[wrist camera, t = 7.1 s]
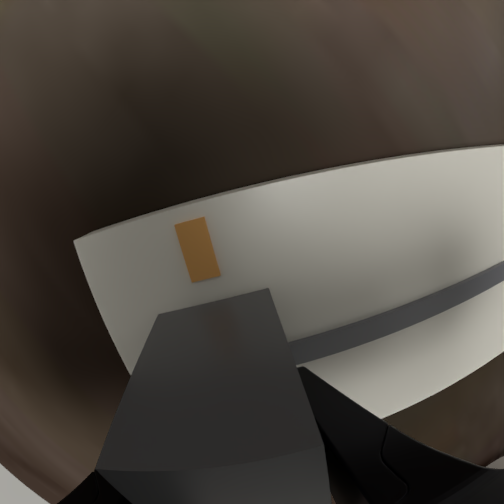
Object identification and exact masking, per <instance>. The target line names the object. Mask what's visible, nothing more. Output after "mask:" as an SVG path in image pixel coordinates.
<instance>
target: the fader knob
mask: <svg viewBox="0 0 504 504" xmlns="http://www.w3.org/2000/svg"><path fill="white" fill-rule="evenodd" d="M95 469H96V470H97V471H98V472H99V473H100V474H101V475H102V476H103V477H104V478H105V479H106V480H107V481H108V482H109V483H110V484H111V485H112V486H113V487H114V488H115V489H116V490H117V491H119V492H120V493H121V494H122V495H123V496H124V497H125V498H126V499H128V500H129V501H130V502H131V503H132V504H332V502H331V494H330V486H329V478H328V470H327V463H326V456H325V449H324V444H323V441H322V438H321V435H320V432H319V429H318V426H317V424H316V421H315V418H314V415H313V412H312V409H311V406H310V404H309V401H308V398H307V395H306V392H305V389H304V386H303V384H302V381H301V378H300V375H299V372H298V369H297V367H296V364H295V361H294V358H293V355H292V352H291V350H290V347H289V344H288V341H287V338H286V335H285V333H284V330H283V327H282V324H281V321H280V318H279V316H278V313H277V310H276V307H275V304H274V302H273V299H272V296H271V293H270V290H269V288H266V289H262V290H258V291H254V292H250V293H246V294H242V295H238V296H234V297H230V298H226V299H222V300H217V301H213V302H209V303H205V304H201V305H196V306H192V307H188V308H183V309H179V310H174V311H170V312H165V313H161V314H158V316H157V318H156V320H155V322H154V324H153V327H152V329H151V331H150V333H149V336H148V338H147V340H146V342H145V344H144V347H143V349H142V351H141V354H140V356H139V358H138V360H137V363H136V365H135V367H134V370H133V372H132V374H131V377H130V379H129V382H128V384H127V386H126V389H125V391H124V394H123V396H122V399H121V401H120V404H119V406H118V409H117V411H116V414H115V416H114V419H113V421H112V424H111V427H110V429H109V432H108V435H107V437H106V440H105V443H104V445H103V448H102V451H101V454H100V456H99V459H98V462H97V465H96V468H95Z"/></svg>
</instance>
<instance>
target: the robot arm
mask: <svg viewBox="0 0 504 504" xmlns="http://www.w3.org/2000/svg"><path fill="white" fill-rule="evenodd" d="M297 369H298V372H299V375H300V378H301V381H302V384H303V386H304V389H305V392H306V395H307V398H308V401H309V404H310V406H311V409H312V412H313V415H314V418H315V421H316V424H317V426H318V429H319V432H320V435H321V438H322V441H323V444H324V449H325V456H326V463H327V470H328V478H329V486H330V492H331V494H332V496H333V498H334V500H335V502H336V504H504V469H493V468H486V467H482V466H479V465H476V464H473V463H470V462H467V461H465V460H462V459H459V458H456V457H454V456H451V455H449V454H446V453H444V452H441V451H439V450H436V449H434V448H432V447H429V446H427V445H425V444H423V443H421V442H419V441H417V440H415V439H413V438H411V437H409V436H408V435H406V434H404V433H402V432H401V431H399V430H398V429H396V428H394V427H393V426H391V425H389V426H388V423H386V422H385V421H383V420H382V419H380V418H379V417H377V416H376V415H374V414H373V413H371V412H369V411H368V410H366V409H365V408H363V407H362V406H360V405H359V404H357V403H356V402H354V401H353V400H352V399H350V398H349V397H347V396H346V395H344V394H343V393H341V392H340V391H338V390H337V389H336V388H334V387H333V386H331V385H330V384H328V383H327V382H326V381H324V380H323V379H321V378H320V377H318V376H317V375H316V374H314V373H313V372H311V371H310V370H309V369H307V368H306V367H304V366H301V367H297ZM57 504H132V503H131V502H130V501H129V500H128V499H126V498H125V497H124V496H123V495H122V494H121V493H120V492H119V491H117V490H116V489H115V488H114V487H113V486H112V485H111V484H110V483H109V482H108V481H107V480H106V479H105V478H104V477H103V476H102V475H101V474H100V473H99V472H98V471H97V470H96V469H95V470H94V472H92V473H91V474H90V475H89V476H88V477H87V478H86V479H85V480H84V481H83V482H82V483H81V484H80V485H78V486H77V487H76V488H75V489H74V490H73V491H72V492H71V493H70V494H68V495H67V496H66V497H65V498H64V499H62V500H61V501H60V502H59V503H57Z"/></svg>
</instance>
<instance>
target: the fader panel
mask: <svg viewBox="0 0 504 504" xmlns="http://www.w3.org/2000/svg"><path fill="white" fill-rule="evenodd" d="M73 242H74V245H75V248H76V251H77V254H78V257H79V260H80V263H81V265H82V268H83V271H84V274H85V276H86V279H87V282H88V284H89V287H90V289H91V292H92V295H93V297H94V299H95V302H96V304H97V307H98V309H99V311H100V314H101V316H102V318H103V321H104V323H105V325H106V327H107V329H108V332H109V334H110V336H111V338H112V340H113V342H114V344H115V346H116V348H117V350H118V352H119V354H120V356H121V358H122V360H123V362H124V364H125V366H126V368H127V370H128V372H129V373H130V375H131V374H132V372H133V370H134V367H135V365H136V363H137V360H138V358H139V356H140V354H141V351H142V349H143V347H144V344H145V342H146V340H147V338H148V336H149V333H150V331H151V329H152V327H153V324H154V322H155V320H156V318H157V316H158V314H161V313H165V312H170V311H174V310H179V309H183V308H188V307H192V306H196V305H201V304H205V303H209V302H213V301H217V300H222V299H226V298H230V297H234V296H238V295H242V294H246V293H250V292H254V291H258V290H262V289H266V288H269V290H270V293H271V296H272V299H273V302H274V304H275V307H276V310H277V313H278V316H279V318H280V321H281V324H282V327H283V330H284V333H285V335H286V338H287V341H288V344H289V347H290V350H291V352H292V355H293V358H294V361H295V364H296V367H301V366H304V367H306V368H307V369H309V370H310V371H311V372H313V373H314V374H316V375H317V376H318V377H320V378H321V379H323V380H324V381H326V382H327V383H328V384H330V385H331V386H333V387H334V388H336V389H337V390H338V391H340V392H341V393H343V394H344V395H346V396H347V397H349V398H350V399H352V400H353V401H354V402H356V403H357V404H359V405H360V406H362V407H363V408H365V409H366V410H368V411H369V412H371V413H373V414H374V415H376V416H377V417H379V418H380V419H382V418H384V417H387V416H389V415H391V414H394V413H396V412H398V411H401V410H403V409H405V408H407V407H409V406H411V405H414V404H416V403H418V402H420V401H422V400H424V399H426V398H428V397H430V396H432V395H434V394H435V393H437V392H439V391H441V390H443V389H445V388H447V387H448V386H450V385H452V384H454V383H455V382H457V381H459V380H460V379H462V378H464V377H465V376H467V375H469V374H470V373H472V372H474V371H475V370H477V369H478V368H480V367H481V366H483V365H484V364H486V363H487V362H489V361H490V360H492V359H493V358H495V357H496V356H498V355H499V354H500V353H502V352H503V351H504V144H499V145H486V146H475V147H465V148H455V149H447V150H438V151H431V152H423V153H416V154H409V155H402V156H395V157H389V158H383V159H377V160H371V161H365V162H359V163H353V164H348V165H343V166H337V167H332V168H327V169H322V170H317V171H312V172H307V173H303V174H298V175H293V176H289V177H284V178H280V179H275V180H271V181H267V182H262V183H258V184H254V185H250V186H246V187H242V188H238V189H234V190H230V191H226V192H222V193H218V194H214V195H211V196H207V197H203V198H199V199H196V200H192V201H189V202H185V203H182V204H178V205H175V206H171V207H168V208H164V209H161V210H158V211H154V212H151V213H148V214H144V215H141V216H138V217H135V218H132V219H128V220H125V221H122V222H119V223H116V224H113V225H110V226H107V227H104V228H101V229H98V230H95V231H93V232H91V233H88V234H86V235H84V236H82V237H80V238H78V239H76V240H74V241H73Z"/></svg>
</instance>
